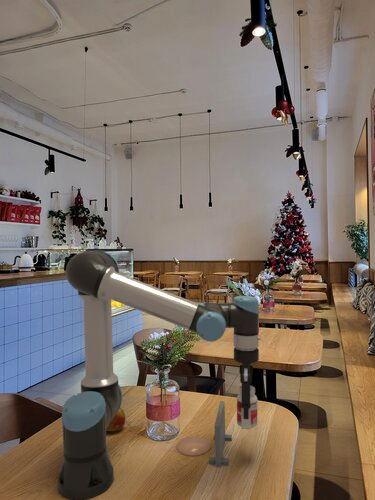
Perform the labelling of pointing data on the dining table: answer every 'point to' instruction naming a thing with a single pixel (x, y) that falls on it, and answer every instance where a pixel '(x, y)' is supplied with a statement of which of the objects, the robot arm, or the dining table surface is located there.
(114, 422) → the fruit
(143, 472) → the dining table surface
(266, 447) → the dining table surface
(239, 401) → the pill bottle
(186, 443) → the coaster
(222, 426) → the screen
